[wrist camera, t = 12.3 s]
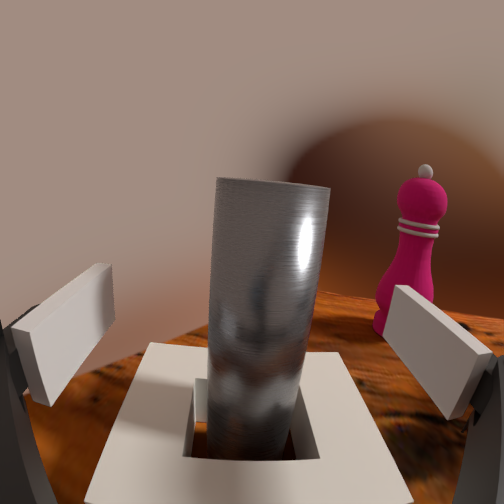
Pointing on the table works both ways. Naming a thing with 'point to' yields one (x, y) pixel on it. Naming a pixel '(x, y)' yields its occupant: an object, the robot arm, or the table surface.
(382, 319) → the pepper mill
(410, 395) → the table surface
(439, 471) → the table surface
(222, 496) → the socket block
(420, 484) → the table surface
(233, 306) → the peg
